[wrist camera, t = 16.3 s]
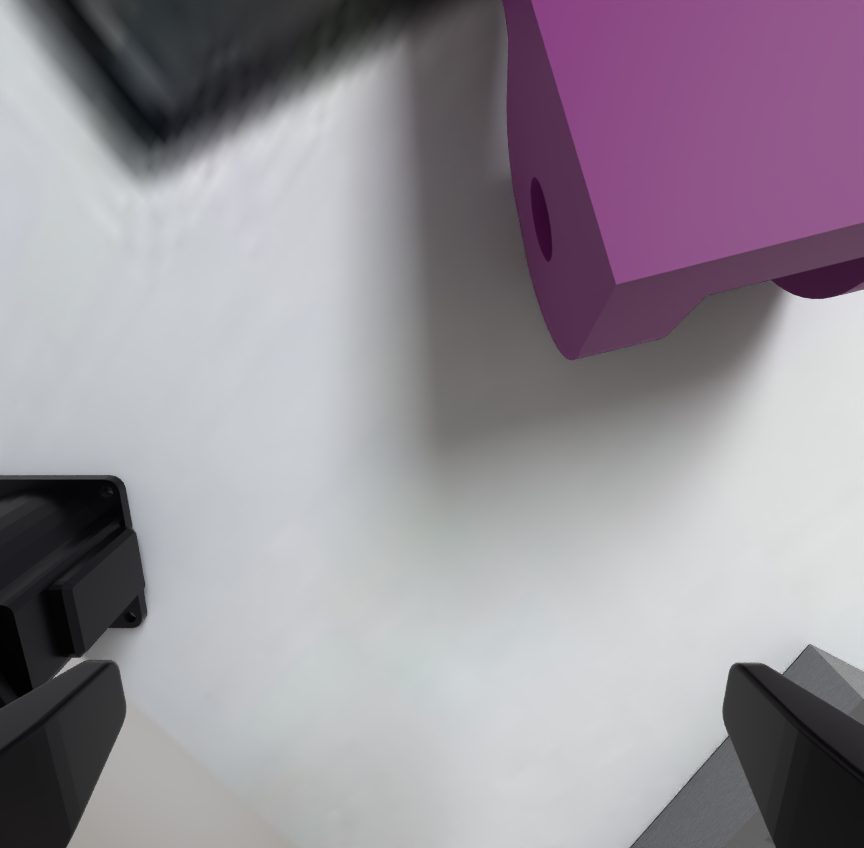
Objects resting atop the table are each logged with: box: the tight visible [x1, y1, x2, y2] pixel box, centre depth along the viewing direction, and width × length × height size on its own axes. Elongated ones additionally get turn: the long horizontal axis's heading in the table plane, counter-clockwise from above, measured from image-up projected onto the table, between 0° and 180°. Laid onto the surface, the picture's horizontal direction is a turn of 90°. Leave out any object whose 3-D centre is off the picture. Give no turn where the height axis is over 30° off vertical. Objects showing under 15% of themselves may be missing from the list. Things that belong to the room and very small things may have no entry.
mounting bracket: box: [502, 0, 864, 360], centre depth 15 cm, size 10×8×18 cm
